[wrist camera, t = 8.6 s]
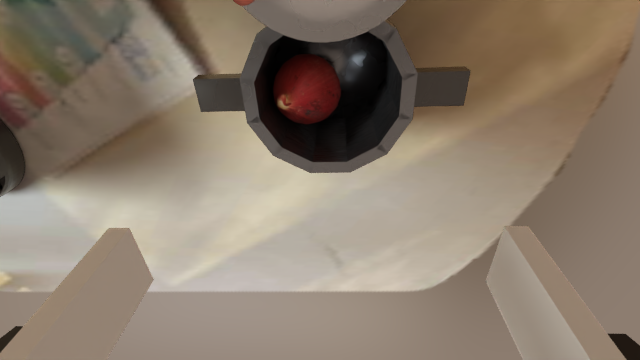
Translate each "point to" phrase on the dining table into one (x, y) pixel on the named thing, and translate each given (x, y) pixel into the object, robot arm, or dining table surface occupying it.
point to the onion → (306, 89)
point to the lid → (321, 17)
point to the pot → (354, 104)
